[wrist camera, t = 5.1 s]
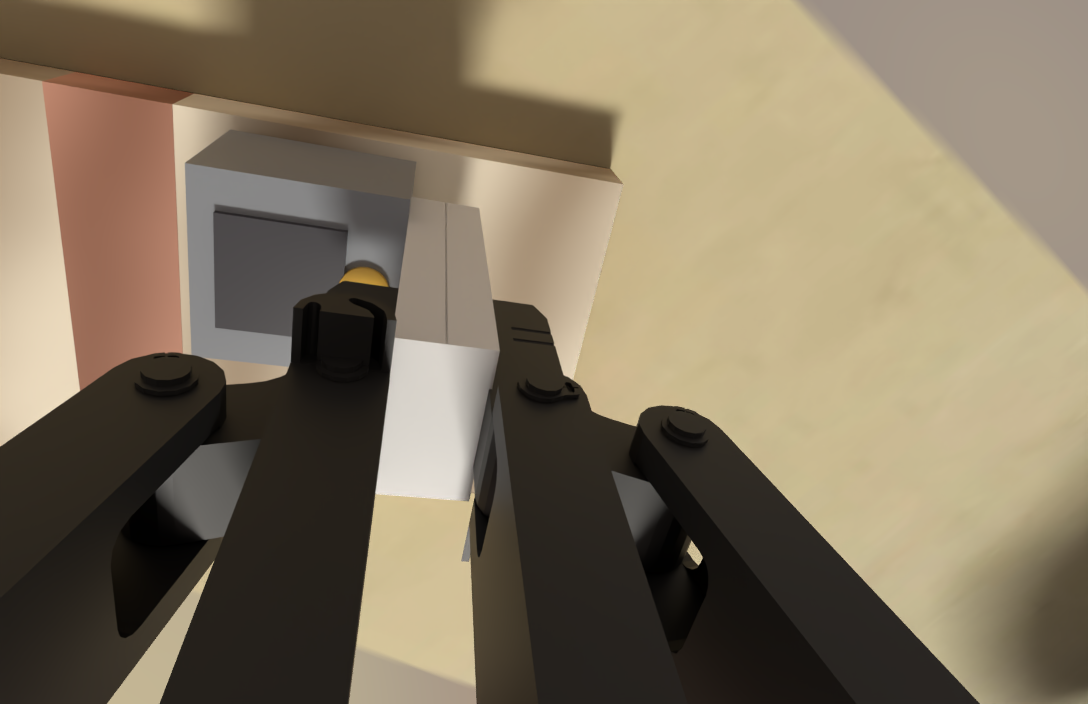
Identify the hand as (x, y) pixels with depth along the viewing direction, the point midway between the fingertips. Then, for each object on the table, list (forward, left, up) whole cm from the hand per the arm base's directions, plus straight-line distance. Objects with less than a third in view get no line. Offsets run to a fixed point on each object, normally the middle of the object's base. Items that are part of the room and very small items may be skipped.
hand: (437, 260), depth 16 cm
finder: (+3, 0, -1) cm, 3 cm away
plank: (+4, +3, -3) cm, 6 cm away
